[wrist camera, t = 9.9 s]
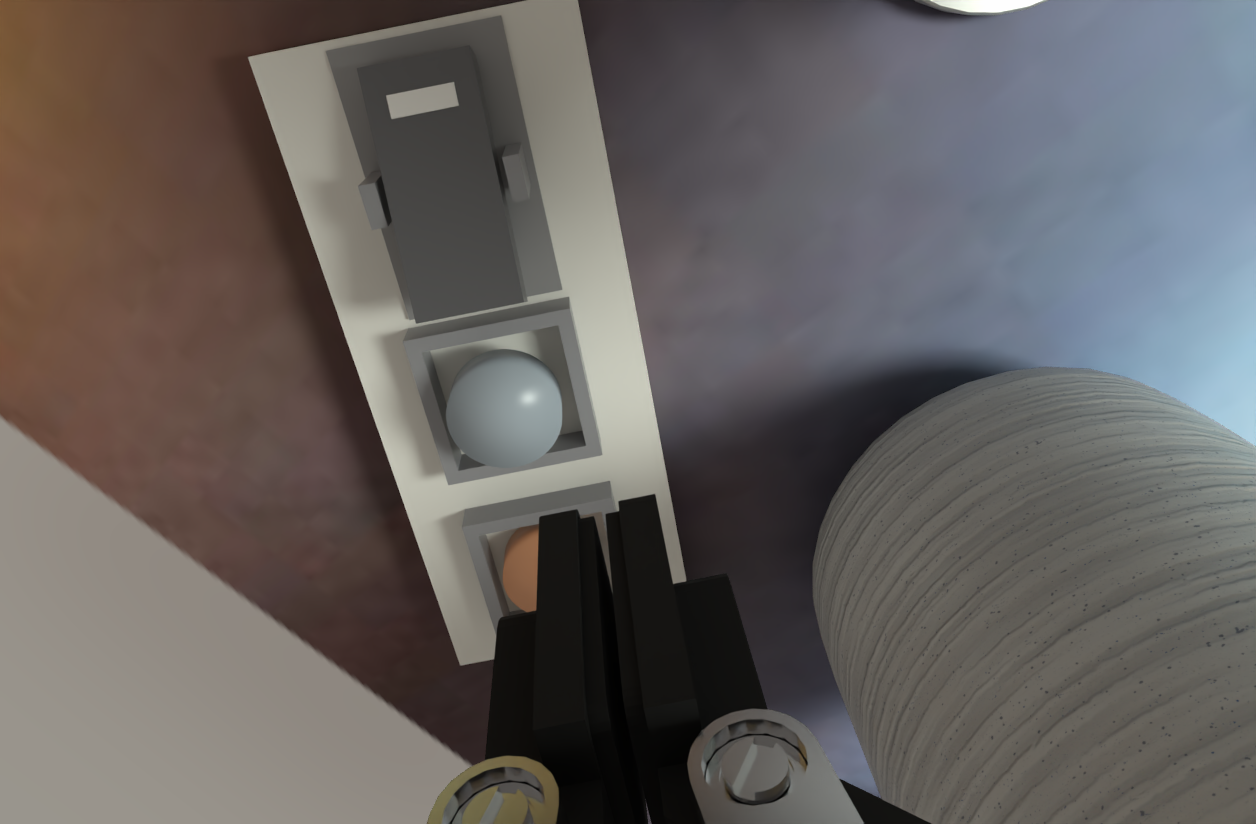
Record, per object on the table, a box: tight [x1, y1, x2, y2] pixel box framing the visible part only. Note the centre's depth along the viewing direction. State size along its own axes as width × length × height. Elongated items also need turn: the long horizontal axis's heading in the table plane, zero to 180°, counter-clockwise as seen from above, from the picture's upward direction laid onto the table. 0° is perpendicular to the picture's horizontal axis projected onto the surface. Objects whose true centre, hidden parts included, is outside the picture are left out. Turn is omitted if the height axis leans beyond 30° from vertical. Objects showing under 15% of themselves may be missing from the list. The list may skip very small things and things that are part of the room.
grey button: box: [446, 349, 562, 468], centre depth 36 cm, size 5×5×2 cm
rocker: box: [357, 45, 528, 324], centre depth 32 cm, size 4×9×2 cm, turn 10°
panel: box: [248, 0, 686, 666], centre depth 38 cm, size 12×29×5 cm, turn 10°
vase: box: [813, 367, 1256, 824], centre depth 30 cm, size 20×20×34 cm
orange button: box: [503, 524, 539, 612], centre depth 41 cm, size 5×5×2 cm
